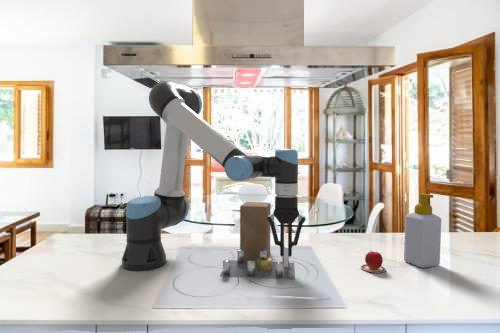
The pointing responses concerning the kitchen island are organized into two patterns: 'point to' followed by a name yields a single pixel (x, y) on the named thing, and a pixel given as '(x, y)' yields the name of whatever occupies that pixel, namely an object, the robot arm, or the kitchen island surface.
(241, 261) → the set of silver pegs
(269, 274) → the grey flat plate
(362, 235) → the kitchen island surface
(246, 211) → the wooden block
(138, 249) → the robot arm
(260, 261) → the nut
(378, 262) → the apple
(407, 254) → the soap bottle
